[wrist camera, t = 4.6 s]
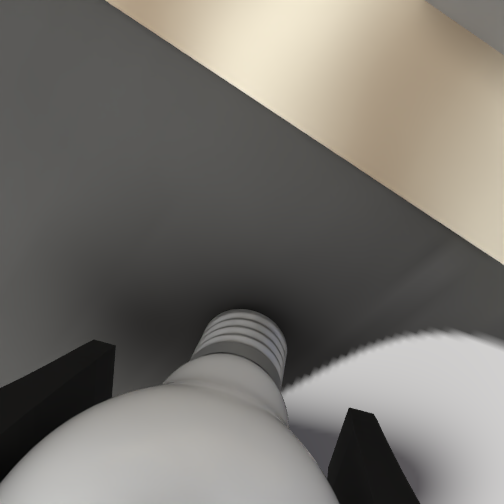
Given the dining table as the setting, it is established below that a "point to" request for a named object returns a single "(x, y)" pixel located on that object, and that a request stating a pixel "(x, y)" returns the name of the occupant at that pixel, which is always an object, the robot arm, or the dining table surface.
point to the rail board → (370, 88)
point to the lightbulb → (184, 435)
